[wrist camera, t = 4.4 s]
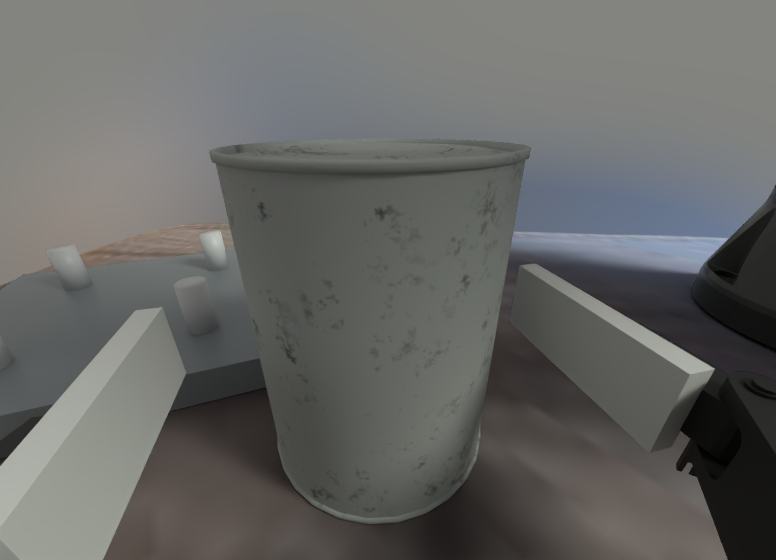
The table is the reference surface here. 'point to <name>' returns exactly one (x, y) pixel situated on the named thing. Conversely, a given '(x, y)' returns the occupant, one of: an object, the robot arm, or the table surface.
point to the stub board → (111, 310)
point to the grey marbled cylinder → (374, 307)
